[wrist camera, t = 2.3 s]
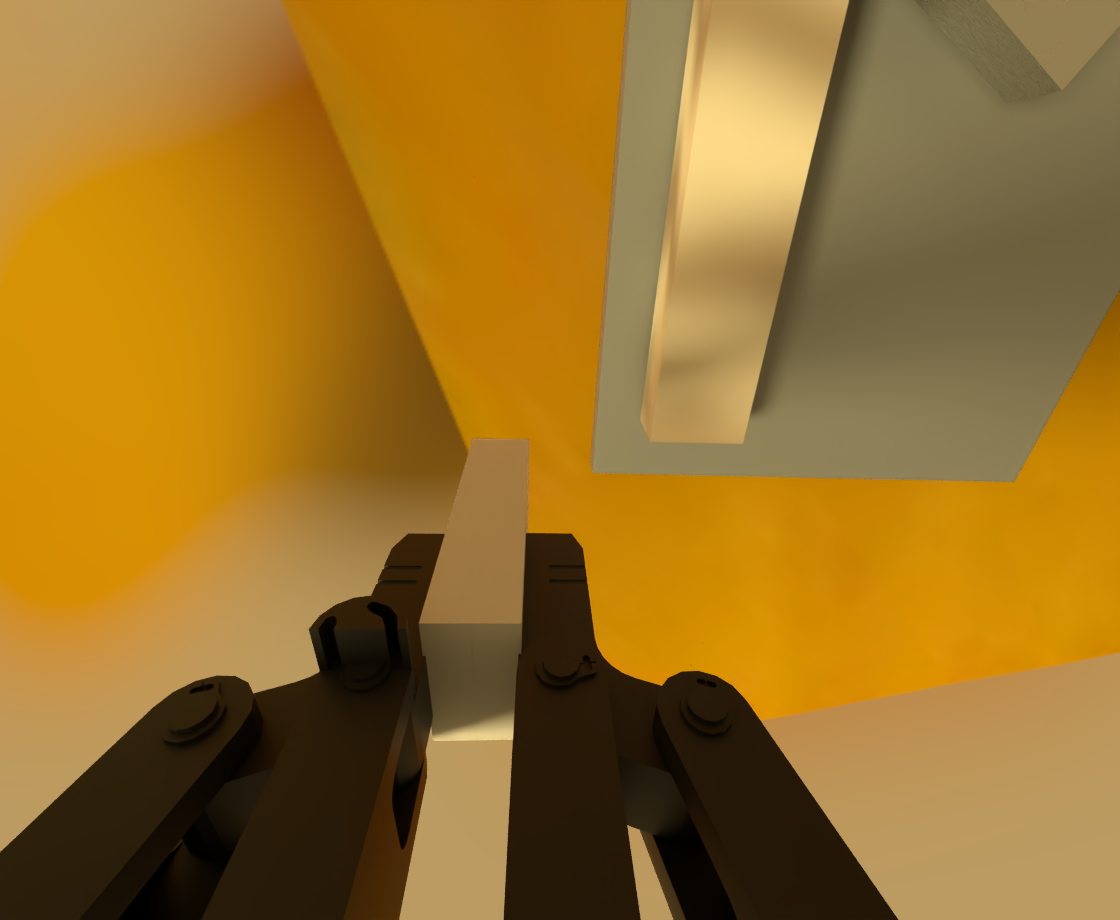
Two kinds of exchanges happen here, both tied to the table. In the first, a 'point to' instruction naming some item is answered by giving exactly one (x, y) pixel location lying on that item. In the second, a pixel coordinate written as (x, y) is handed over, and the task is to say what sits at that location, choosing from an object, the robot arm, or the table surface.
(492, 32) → the table surface
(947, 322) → the base plate
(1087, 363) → the table surface
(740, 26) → the link
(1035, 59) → the beige block
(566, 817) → the robot arm
